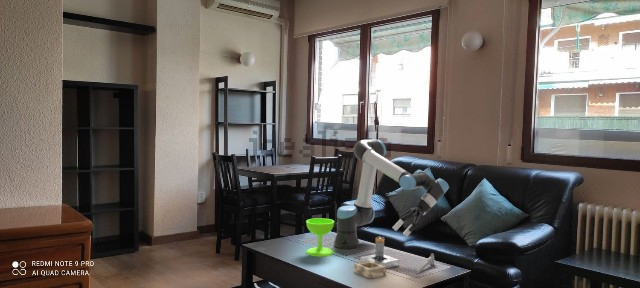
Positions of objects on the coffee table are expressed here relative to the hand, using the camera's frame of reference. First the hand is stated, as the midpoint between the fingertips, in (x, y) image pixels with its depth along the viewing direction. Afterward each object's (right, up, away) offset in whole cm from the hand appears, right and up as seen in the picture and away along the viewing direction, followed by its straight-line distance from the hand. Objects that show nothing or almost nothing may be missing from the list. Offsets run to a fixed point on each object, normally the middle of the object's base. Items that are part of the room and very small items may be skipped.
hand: (399, 232), depth 239 cm
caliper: (+12, -17, -9) cm, 23 cm away
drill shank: (-11, -16, -2) cm, 20 cm away
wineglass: (-42, -15, +18) cm, 48 cm away
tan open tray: (-17, -17, -17) cm, 30 cm away
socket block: (-11, -16, -2) cm, 20 cm away
